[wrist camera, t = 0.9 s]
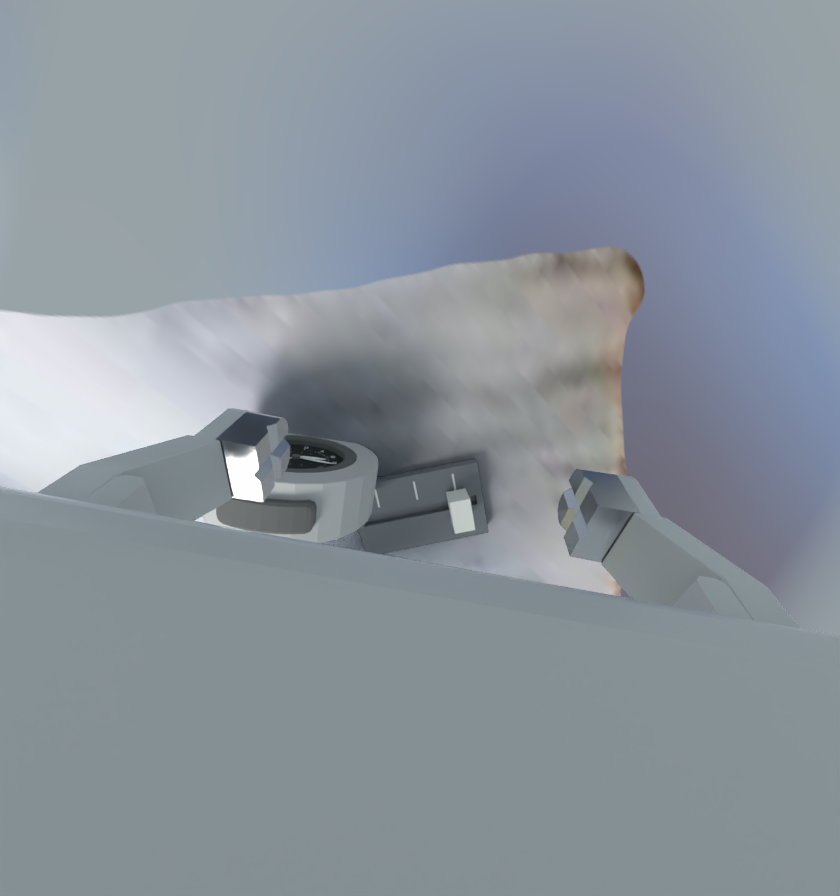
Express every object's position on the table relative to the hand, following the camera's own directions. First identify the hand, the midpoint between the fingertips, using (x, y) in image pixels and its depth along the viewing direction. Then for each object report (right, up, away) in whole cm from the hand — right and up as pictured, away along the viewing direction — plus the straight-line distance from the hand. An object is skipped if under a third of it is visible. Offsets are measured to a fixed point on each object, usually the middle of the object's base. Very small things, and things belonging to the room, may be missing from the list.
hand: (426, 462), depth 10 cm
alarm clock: (-17, -1, +45) cm, 48 cm away
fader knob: (+6, -8, +46) cm, 47 cm away
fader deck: (0, -9, +47) cm, 48 cm away
